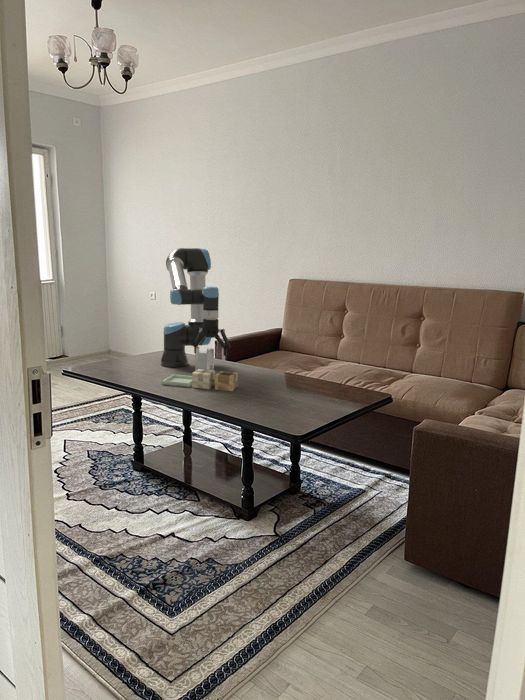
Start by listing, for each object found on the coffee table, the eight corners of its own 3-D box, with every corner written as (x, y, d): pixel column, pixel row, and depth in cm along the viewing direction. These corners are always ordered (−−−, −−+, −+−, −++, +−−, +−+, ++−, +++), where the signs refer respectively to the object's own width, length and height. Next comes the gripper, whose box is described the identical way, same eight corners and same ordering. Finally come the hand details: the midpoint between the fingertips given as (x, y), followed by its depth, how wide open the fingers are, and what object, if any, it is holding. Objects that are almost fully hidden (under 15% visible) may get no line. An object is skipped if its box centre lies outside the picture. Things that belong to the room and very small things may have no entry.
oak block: (220, 385, 263) (220, 371, 262) (237, 386, 261) (237, 372, 260) (214, 389, 255) (215, 375, 254) (232, 391, 253) (232, 376, 252)
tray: (173, 378, 274) (173, 374, 274) (198, 380, 271) (198, 376, 270) (161, 384, 261) (161, 380, 261) (188, 387, 258) (188, 383, 258)
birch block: (198, 383, 266) (198, 369, 265) (214, 384, 264) (214, 370, 263) (192, 387, 258) (192, 373, 257) (208, 389, 256) (208, 374, 255)
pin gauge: (208, 379, 274) (208, 348, 271) (214, 379, 273) (215, 348, 270) (205, 381, 270) (205, 349, 267) (212, 381, 270) (212, 350, 266)
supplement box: (211, 374, 285) (211, 350, 283) (209, 377, 278) (209, 353, 275) (198, 373, 286) (198, 349, 283) (194, 376, 279) (194, 352, 276)
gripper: (184, 318, 265) (184, 360, 269) (232, 320, 259) (232, 364, 263) (189, 316, 272) (189, 357, 276) (237, 319, 266) (236, 361, 270)
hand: (210, 361), depth 270 cm, fingers open, 13 cm apart
